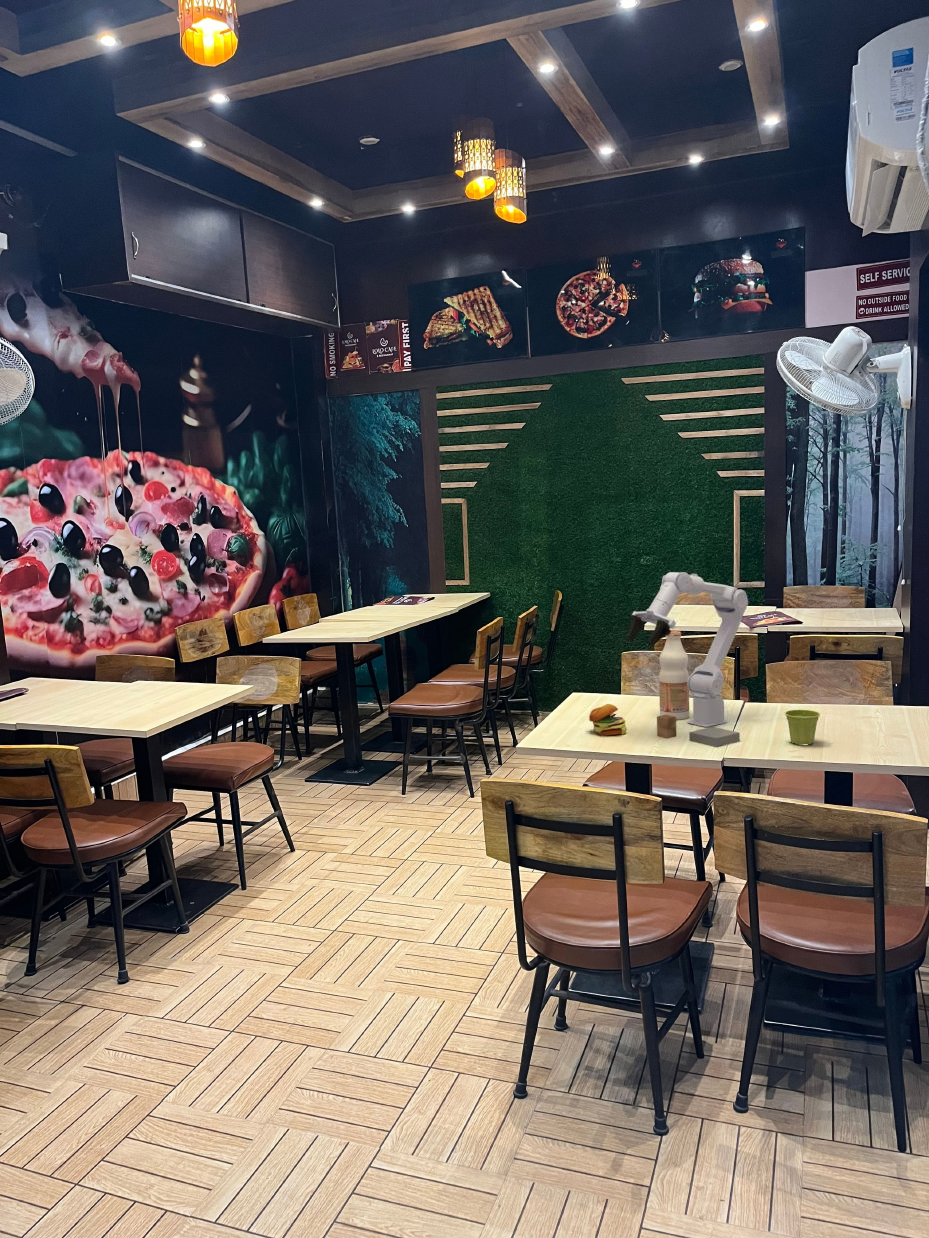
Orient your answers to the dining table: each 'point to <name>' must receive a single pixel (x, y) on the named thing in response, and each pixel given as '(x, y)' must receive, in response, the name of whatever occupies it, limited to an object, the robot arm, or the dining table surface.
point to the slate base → (714, 736)
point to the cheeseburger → (607, 721)
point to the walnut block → (666, 726)
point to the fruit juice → (674, 678)
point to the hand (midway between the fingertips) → (639, 641)
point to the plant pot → (802, 725)
